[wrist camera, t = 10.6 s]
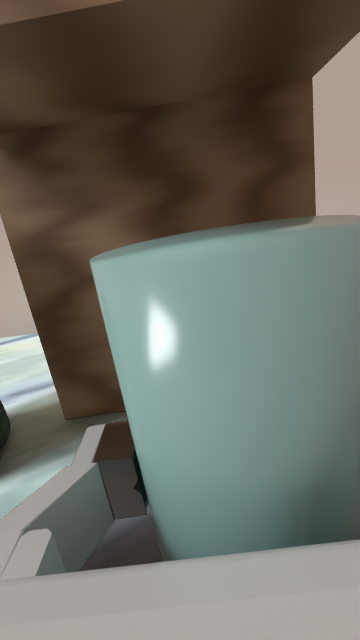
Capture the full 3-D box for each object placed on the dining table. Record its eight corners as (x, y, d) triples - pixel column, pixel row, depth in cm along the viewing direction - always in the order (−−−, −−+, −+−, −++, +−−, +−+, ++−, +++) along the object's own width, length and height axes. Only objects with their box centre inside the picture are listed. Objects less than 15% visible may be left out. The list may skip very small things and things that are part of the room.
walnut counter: (-4, 548, 16) (-266, -15, 9) (71, 408, 28) (-22, 107, 21) (411, 497, 15) (469, -170, 8) (312, 374, 27) (301, 47, 20)
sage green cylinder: (182, 752, 8) (44, 285, 4) (181, 544, 13) (117, 244, 10) (403, 734, 8) (456, 219, 4) (316, 528, 13) (305, 213, 9)
